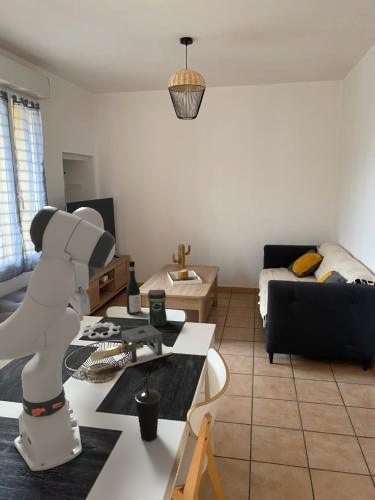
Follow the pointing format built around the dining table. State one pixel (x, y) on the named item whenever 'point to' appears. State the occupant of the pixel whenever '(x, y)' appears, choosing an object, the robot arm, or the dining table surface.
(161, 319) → the coffee jar
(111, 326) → the grey looped trivet
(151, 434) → the drinking cup
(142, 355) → the grey base plate
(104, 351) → the brass air tube
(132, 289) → the wine bottle
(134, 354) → the iron frame
